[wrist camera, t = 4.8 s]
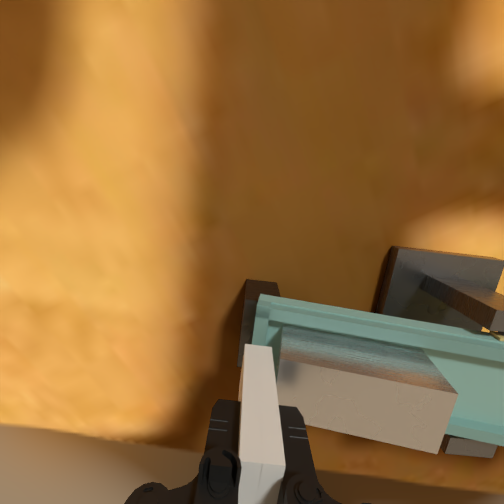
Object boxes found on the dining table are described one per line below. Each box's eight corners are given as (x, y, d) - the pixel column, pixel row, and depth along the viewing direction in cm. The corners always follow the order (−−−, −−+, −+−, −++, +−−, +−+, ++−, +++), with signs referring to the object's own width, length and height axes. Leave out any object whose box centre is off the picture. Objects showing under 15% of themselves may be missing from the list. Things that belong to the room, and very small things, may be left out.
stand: (252, 229, 20) (252, 250, 13) (627, 273, 21) (804, 314, 14) (234, 377, 23) (227, 454, 16) (562, 411, 24) (683, 498, 17)
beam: (261, 289, 17) (257, 299, 15) (800, 380, 14) (869, 405, 12) (249, 377, 19) (244, 395, 17) (731, 479, 15) (783, 513, 14)
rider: (283, 324, 16) (280, 358, 13) (422, 349, 15) (458, 394, 12) (275, 372, 17) (270, 416, 14) (407, 399, 16) (437, 454, 13)
